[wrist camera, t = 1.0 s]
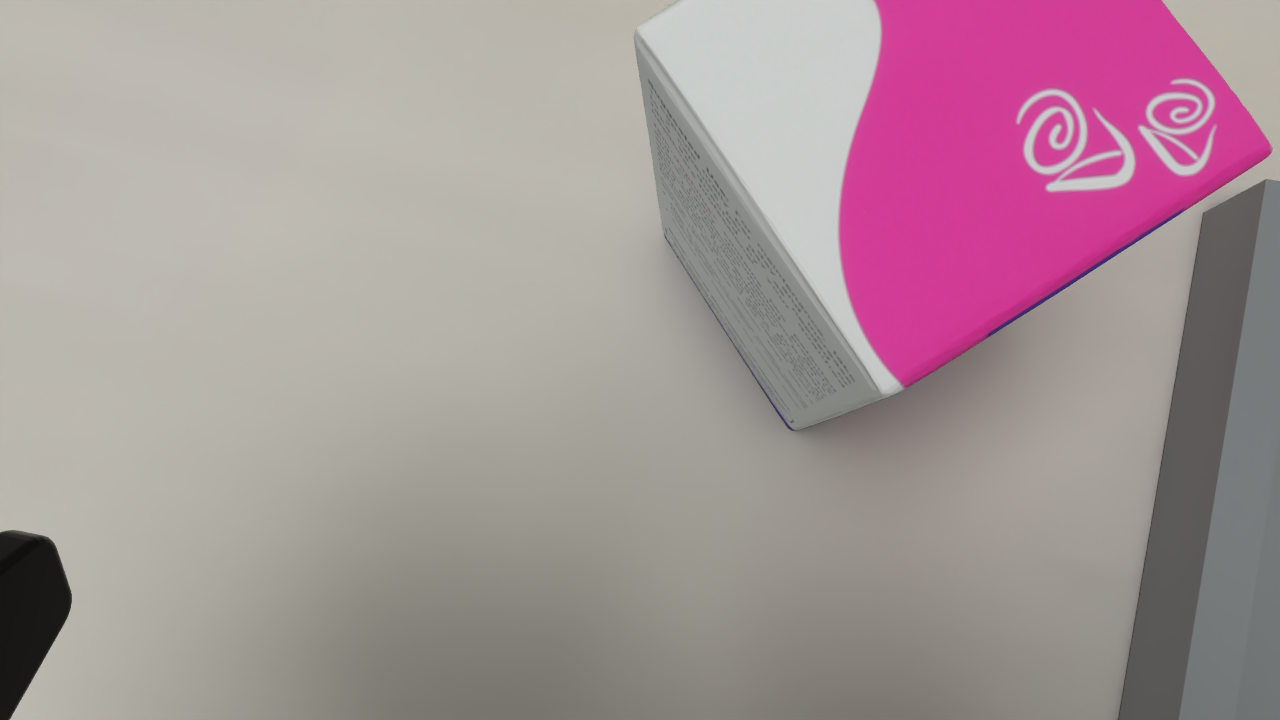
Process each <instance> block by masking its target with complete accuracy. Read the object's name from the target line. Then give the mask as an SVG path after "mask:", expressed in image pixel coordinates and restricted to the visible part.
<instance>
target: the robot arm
mask: <svg viewBox="0 0 1280 720" xmlns="http://www.w3.org/2000/svg"><path fill="white" fill-rule="evenodd" d="M71 603H72V594H71V590H70V587H69V584H68V581H67V578H66V575H65V572H64V569H63V566H62V563H61V560H60V557H59V554H58V551H57V548H56V546H55V544H54V542H53V541H52V540H50V539H49V538H48V537H45V536H42V535H37V534H32V533H27V532H22V531H16V530H9V531H4V532H1V533H0V720H10V718H11V716H12V714H13V713H14V711H15V709H16V707H17V706H18V704H19V702H20V700H21V699H22V697H23V695H24V693H25V692H26V690H27V688H28V686H29V685H30V683H31V681H32V679H33V678H34V676H35V674H36V672H37V671H38V669H39V667H40V665H41V664H42V662H43V660H44V658H45V657H46V655H47V653H48V651H49V650H50V648H51V646H52V644H53V642H54V641H55V639H56V637H57V635H58V634H59V632H60V630H61V628H62V627H63V625H64V623H65V621H66V619H67V617H68V615H69V612H70V608H71Z"/></svg>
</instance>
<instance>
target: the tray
mask: <svg viewBox="0 0 1280 720" xmlns="http://www.w3.org/2000/svg"><path fill="white" fill-rule="evenodd" d="M1119 720H1280V181H1274V180H1269V179H1265V180H1264V181H1262V182H1260V183H1258V184H1256V185H1254V186H1253V187H1251V188H1249V189H1247V190H1245V191H1243V192H1241V193H1240V194H1238V195H1236V196H1234V197H1232V198H1230V199H1229V200H1227V201H1225V202H1223V203H1221V204H1219V205H1217V206H1216V207H1214V208H1212V209H1210V210H1208V211H1206V212H1204V214H1203V220H1202V226H1201V232H1200V238H1199V244H1198V250H1197V256H1196V262H1195V268H1194V274H1193V280H1192V286H1191V292H1190V298H1189V304H1188V310H1187V316H1186V322H1185V328H1184V334H1183V339H1182V345H1181V351H1180V357H1179V363H1178V369H1177V375H1176V381H1175V387H1174V393H1173V399H1172V405H1171V411H1170V417H1169V423H1168V429H1167V435H1166V441H1165V447H1164V453H1163V459H1162V465H1161V471H1160V476H1159V482H1158V488H1157V494H1156V500H1155V506H1154V512H1153V518H1152V524H1151V530H1150V536H1149V542H1148V548H1147V554H1146V560H1145V566H1144V572H1143V578H1142V584H1141V590H1140V596H1139V602H1138V607H1137V613H1136V619H1135V625H1134V631H1133V637H1132V643H1131V649H1130V655H1129V661H1128V667H1127V673H1126V679H1125V685H1124V691H1123V697H1122V703H1121V709H1120V715H1119Z"/></svg>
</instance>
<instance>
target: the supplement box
mask: <svg viewBox="0 0 1280 720" xmlns="http://www.w3.org/2000/svg"><path fill="white" fill-rule="evenodd" d="M634 43H635V51H636V57H637V64H638V70H639V77H640V81H641V88H642V95H643V102H644V108H645V114H646V120H647V127H648V132H649V139H650V147H651V153H652V159H653V167H654V174H655V180H656V188H657V195H658V202H659V208H660V213H661V219H662V228H663V231H664V235H665V238H666V239H667V241H668V243H669V244H670V246H671V247H672V249H673V250H674V252H675V253H676V255H677V257H678V258H679V260H680V261H681V263H682V264H683V266H684V268H685V269H686V271H687V272H688V274H689V275H690V277H691V279H692V280H693V282H694V283H695V285H696V286H697V288H698V290H699V291H700V293H701V294H702V296H703V297H704V299H705V301H706V302H707V304H708V305H709V307H710V308H711V310H712V312H713V313H714V315H715V316H716V318H717V320H718V321H719V323H720V324H721V326H722V327H723V329H724V330H725V332H726V333H727V335H728V337H729V338H730V340H731V341H732V343H733V344H734V346H735V347H736V349H737V350H738V352H739V354H740V355H741V357H742V358H743V360H744V361H745V363H746V364H747V366H748V368H749V369H750V371H751V372H752V374H753V375H754V377H755V378H756V380H757V381H758V383H759V385H760V386H761V388H762V389H763V391H764V392H765V394H766V396H767V397H768V399H769V400H770V402H771V403H772V405H773V406H774V408H775V410H776V411H777V413H778V414H779V416H780V417H781V418H782V420H783V421H784V423H785V424H786V426H787V427H788V428H789V429H790V430H792V431H796V430H800V429H804V428H806V427H809V426H812V425H815V424H818V423H820V422H823V421H826V420H829V419H831V418H836V417H838V416H840V415H842V414H845V413H847V412H850V411H853V410H855V409H858V408H860V407H863V406H865V405H868V404H871V403H874V402H876V401H879V400H882V399H884V398H887V397H890V396H892V395H895V394H897V393H899V392H901V391H903V390H904V389H906V388H907V387H909V386H911V385H912V384H914V383H916V382H917V381H919V380H921V379H922V378H924V377H926V376H927V375H929V374H931V373H932V372H934V371H936V370H937V369H939V368H940V367H942V366H943V365H945V364H947V363H948V362H950V361H951V360H953V359H954V358H956V357H958V356H959V355H961V354H962V353H964V352H966V351H967V350H969V349H970V348H972V347H973V346H975V345H977V344H978V343H980V342H981V341H983V340H985V339H986V338H988V337H989V336H991V335H992V334H994V333H996V332H997V331H999V330H1000V329H1002V328H1003V327H1005V326H1007V325H1008V324H1010V323H1011V322H1013V321H1015V320H1016V319H1018V318H1019V317H1021V316H1022V315H1024V314H1026V313H1027V312H1029V311H1030V310H1032V309H1034V308H1035V307H1037V306H1038V305H1040V304H1042V303H1043V302H1045V301H1046V300H1048V299H1049V298H1051V297H1053V296H1054V295H1056V294H1057V293H1059V292H1060V291H1062V290H1063V289H1065V288H1067V287H1068V286H1070V285H1071V284H1073V283H1074V282H1076V281H1077V280H1079V279H1080V278H1082V277H1084V276H1085V275H1087V274H1088V273H1090V272H1091V271H1093V270H1094V269H1096V268H1097V267H1099V266H1100V265H1102V264H1103V263H1105V262H1107V261H1108V260H1110V259H1111V258H1113V257H1114V256H1116V255H1117V254H1119V253H1120V252H1122V251H1123V250H1125V249H1127V248H1128V247H1130V246H1131V245H1133V244H1134V243H1136V242H1137V241H1139V240H1140V239H1142V238H1144V237H1145V236H1147V235H1148V234H1150V233H1151V232H1153V231H1154V230H1156V229H1157V228H1159V227H1161V226H1162V225H1164V224H1165V223H1167V222H1168V221H1170V220H1171V219H1173V218H1175V217H1176V216H1178V215H1179V214H1181V213H1182V212H1184V211H1185V210H1187V209H1188V208H1190V207H1191V206H1193V205H1195V204H1196V203H1198V202H1199V201H1201V200H1202V199H1204V198H1205V197H1207V196H1208V195H1210V194H1211V193H1213V192H1215V191H1216V190H1218V189H1219V188H1221V187H1222V186H1224V185H1225V184H1227V183H1229V182H1230V181H1232V180H1233V179H1235V178H1236V177H1238V176H1239V175H1241V174H1243V173H1244V172H1246V171H1247V170H1249V169H1250V168H1252V167H1253V166H1255V165H1256V164H1258V163H1260V162H1261V161H1263V160H1264V159H1265V158H1267V157H1268V156H1269V155H1270V154H1271V152H1272V149H1273V148H1272V146H1271V145H1270V143H1269V141H1268V140H1267V138H1266V137H1265V135H1264V134H1263V132H1262V131H1261V129H1260V128H1259V126H1258V125H1257V123H1256V122H1255V120H1254V119H1253V118H1252V116H1251V115H1250V113H1249V112H1248V111H1247V109H1246V108H1245V107H1244V106H1243V105H1242V103H1241V102H1240V100H1239V99H1238V97H1237V96H1236V95H1235V93H1234V92H1233V91H1232V90H1231V89H1230V87H1229V86H1228V84H1227V83H1226V82H1225V80H1224V79H1223V77H1222V76H1221V75H1220V74H1219V72H1218V71H1217V70H1216V69H1215V67H1214V66H1213V65H1212V63H1211V62H1210V61H1209V60H1208V58H1207V57H1206V56H1205V55H1204V53H1203V52H1202V51H1201V50H1200V48H1199V47H1198V46H1197V45H1196V43H1195V42H1194V41H1193V40H1192V38H1191V37H1190V36H1189V35H1188V34H1187V32H1186V31H1185V30H1184V29H1183V28H1182V26H1181V25H1180V24H1179V23H1178V21H1177V20H1176V19H1175V18H1174V16H1173V15H1172V14H1171V12H1170V11H1169V10H1168V8H1167V7H1166V6H1165V4H1164V3H1163V2H1162V0H677V1H676V2H674V3H672V4H671V5H669V6H668V7H666V8H665V9H663V10H662V11H660V12H659V13H657V14H656V15H654V16H653V17H651V18H650V19H648V20H646V21H645V22H643V23H642V24H640V25H639V26H637V27H636V29H635V33H634Z"/></svg>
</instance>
